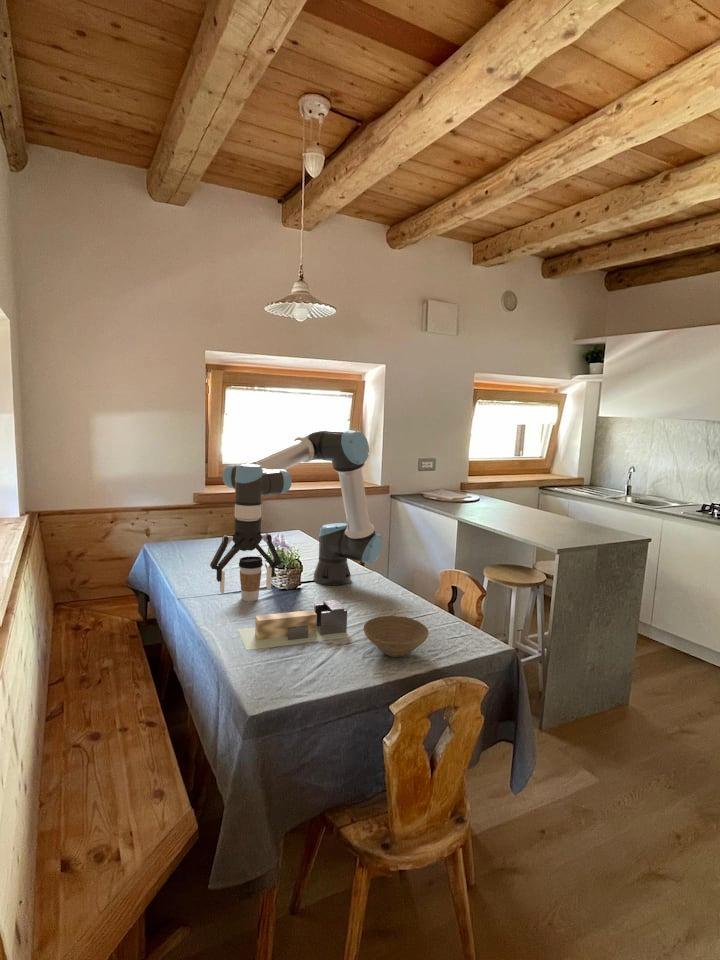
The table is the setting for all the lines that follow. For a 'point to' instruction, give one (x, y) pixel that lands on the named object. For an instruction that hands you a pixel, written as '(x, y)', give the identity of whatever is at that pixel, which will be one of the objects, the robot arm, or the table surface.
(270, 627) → the pine slat
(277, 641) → the sage board
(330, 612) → the end cap
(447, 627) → the table surface
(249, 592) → the coffee cup
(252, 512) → the robot arm
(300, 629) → the open saddle
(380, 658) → the table surface
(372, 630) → the bowl
